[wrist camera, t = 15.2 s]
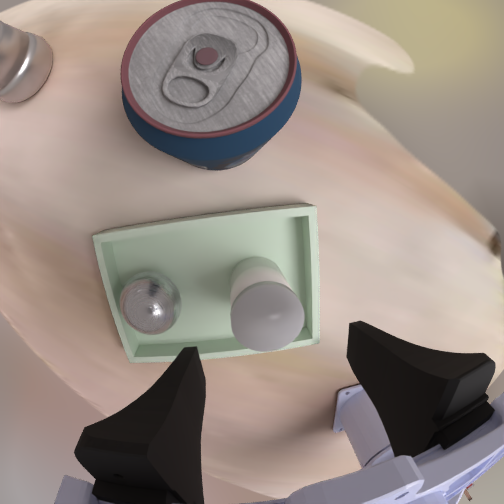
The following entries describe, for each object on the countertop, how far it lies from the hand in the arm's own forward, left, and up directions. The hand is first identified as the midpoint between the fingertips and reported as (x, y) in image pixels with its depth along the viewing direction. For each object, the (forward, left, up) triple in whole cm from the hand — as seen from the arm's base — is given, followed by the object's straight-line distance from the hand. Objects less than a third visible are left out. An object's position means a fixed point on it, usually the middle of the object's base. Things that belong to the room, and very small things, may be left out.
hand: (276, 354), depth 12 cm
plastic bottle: (+18, -22, -10) cm, 30 cm away
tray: (+3, 0, -10) cm, 11 cm away
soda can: (+1, -12, -10) cm, 16 cm away
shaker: (0, 0, -10) cm, 10 cm away
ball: (+8, 0, -7) cm, 11 cm away
